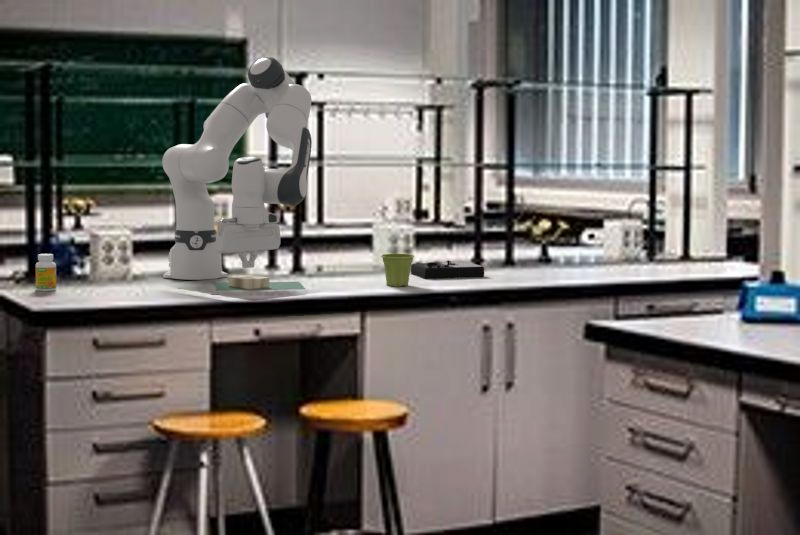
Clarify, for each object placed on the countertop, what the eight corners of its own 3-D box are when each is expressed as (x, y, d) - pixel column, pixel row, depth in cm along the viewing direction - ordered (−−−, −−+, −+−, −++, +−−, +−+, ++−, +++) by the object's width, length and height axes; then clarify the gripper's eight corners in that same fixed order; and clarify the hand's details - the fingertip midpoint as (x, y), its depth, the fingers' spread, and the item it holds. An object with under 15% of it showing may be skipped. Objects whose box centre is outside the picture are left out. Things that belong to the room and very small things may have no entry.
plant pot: (411, 288, 365) (411, 257, 364) (378, 287, 367) (378, 256, 366) (416, 284, 374) (416, 254, 373) (384, 282, 376) (384, 253, 375)
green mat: (213, 286, 362) (213, 282, 362) (298, 285, 367) (298, 281, 367) (216, 294, 347) (216, 290, 347) (305, 293, 351) (305, 289, 351)
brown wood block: (248, 284, 360) (228, 286, 355) (248, 274, 359) (228, 276, 354) (269, 287, 353) (249, 289, 348) (269, 277, 353) (249, 279, 348)
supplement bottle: (35, 291, 348) (34, 255, 347) (36, 289, 354) (35, 253, 352) (56, 291, 350) (55, 255, 348) (56, 288, 355) (56, 253, 354)
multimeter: (410, 275, 398) (410, 259, 397) (468, 273, 404) (468, 257, 404) (425, 280, 386) (425, 263, 385) (484, 278, 392) (485, 262, 391)
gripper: (225, 219, 342) (225, 271, 344) (284, 216, 357) (283, 266, 358) (210, 218, 346) (210, 269, 348) (269, 214, 361) (269, 264, 363)
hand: (248, 267), depth 353 cm, fingers closed
